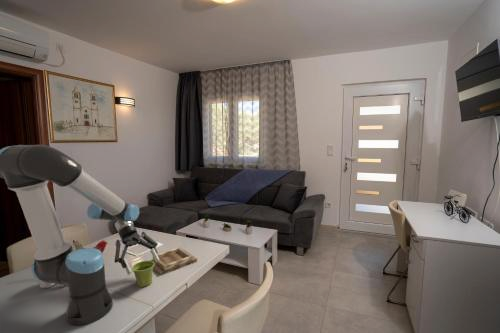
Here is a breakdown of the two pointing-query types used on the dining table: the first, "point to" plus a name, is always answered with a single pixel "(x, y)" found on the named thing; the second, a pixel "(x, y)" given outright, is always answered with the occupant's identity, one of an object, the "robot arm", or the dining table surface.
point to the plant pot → (143, 272)
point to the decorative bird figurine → (101, 246)
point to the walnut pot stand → (172, 260)
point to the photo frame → (142, 252)
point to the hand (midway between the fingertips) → (144, 266)
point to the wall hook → (46, 284)
